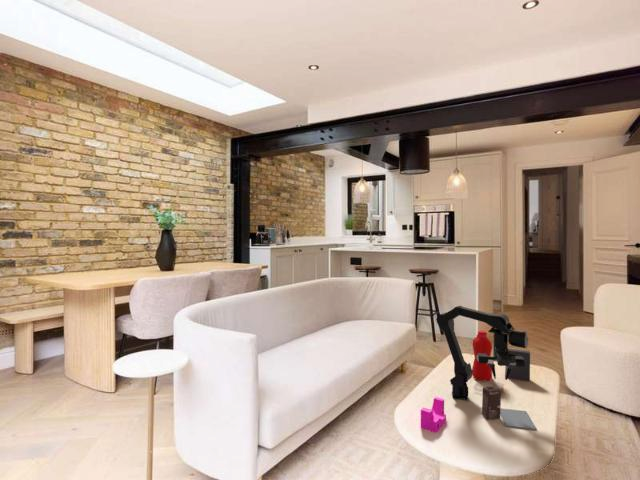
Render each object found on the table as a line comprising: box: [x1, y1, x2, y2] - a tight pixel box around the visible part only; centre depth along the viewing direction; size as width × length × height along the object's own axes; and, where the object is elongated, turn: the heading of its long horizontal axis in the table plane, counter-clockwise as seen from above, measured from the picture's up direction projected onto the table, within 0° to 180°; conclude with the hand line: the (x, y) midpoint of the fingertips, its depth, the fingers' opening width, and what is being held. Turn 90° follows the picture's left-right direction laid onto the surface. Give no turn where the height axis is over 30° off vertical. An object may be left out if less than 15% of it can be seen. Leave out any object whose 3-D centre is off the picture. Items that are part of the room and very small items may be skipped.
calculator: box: [507, 348, 531, 382], centre depth 197 cm, size 11×4×15 cm, turn 63°
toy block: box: [420, 396, 447, 434], centre depth 151 cm, size 15×6×8 cm, turn 141°
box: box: [481, 385, 502, 420], centre depth 156 cm, size 6×4×12 cm
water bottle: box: [468, 330, 493, 382], centre depth 198 cm, size 9×11×25 cm
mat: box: [500, 408, 538, 431], centre depth 154 cm, size 11×15×1 cm
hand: (500, 379), depth 163 cm, fingers open, 4 cm apart
